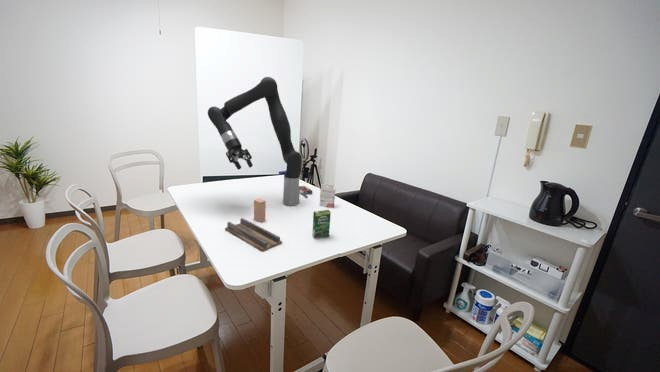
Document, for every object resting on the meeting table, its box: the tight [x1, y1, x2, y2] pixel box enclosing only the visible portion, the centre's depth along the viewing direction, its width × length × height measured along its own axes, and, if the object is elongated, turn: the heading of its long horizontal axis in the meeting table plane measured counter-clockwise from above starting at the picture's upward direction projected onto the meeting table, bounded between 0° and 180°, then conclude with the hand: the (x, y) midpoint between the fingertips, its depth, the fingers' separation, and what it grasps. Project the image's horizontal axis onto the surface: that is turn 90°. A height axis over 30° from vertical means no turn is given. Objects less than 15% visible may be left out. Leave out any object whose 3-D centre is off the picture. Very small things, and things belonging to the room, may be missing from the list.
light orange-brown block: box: [253, 198, 267, 223], centre depth 152 cm, size 4×5×11 cm
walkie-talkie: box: [299, 185, 313, 198], centre depth 202 cm, size 9×4×20 cm
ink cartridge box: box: [319, 183, 336, 209], centre depth 180 cm, size 9×5×15 cm, turn 76°
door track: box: [224, 217, 283, 252], centre depth 134 cm, size 11×28×4 cm, turn 51°
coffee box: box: [312, 209, 331, 239], centre depth 139 cm, size 8×3×13 cm, turn 114°
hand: (245, 167), depth 152 cm, fingers open, 8 cm apart
